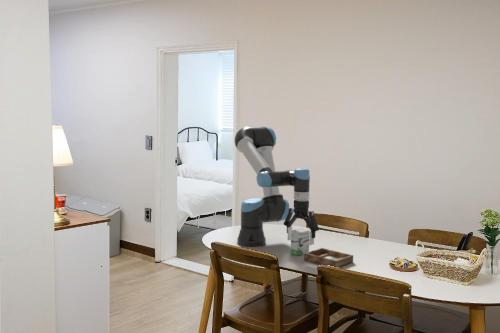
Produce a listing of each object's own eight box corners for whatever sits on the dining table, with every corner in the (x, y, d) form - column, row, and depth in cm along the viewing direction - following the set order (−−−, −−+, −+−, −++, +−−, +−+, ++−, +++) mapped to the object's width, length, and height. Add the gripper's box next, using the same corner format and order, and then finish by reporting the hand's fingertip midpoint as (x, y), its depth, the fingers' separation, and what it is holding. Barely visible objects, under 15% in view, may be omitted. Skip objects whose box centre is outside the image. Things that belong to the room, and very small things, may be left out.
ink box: (296, 255, 258) (297, 232, 257) (289, 253, 262) (290, 230, 261) (309, 253, 264) (310, 230, 262) (302, 250, 267) (303, 228, 266)
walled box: (304, 260, 251) (304, 253, 251) (321, 254, 261) (321, 247, 261) (336, 268, 239) (336, 261, 238) (352, 262, 249) (353, 255, 249)
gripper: (277, 197, 265) (276, 239, 267) (317, 203, 248) (316, 248, 251) (286, 196, 271) (285, 236, 273) (326, 202, 254) (325, 245, 256)
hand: (300, 242), depth 262 cm, fingers open, 13 cm apart
